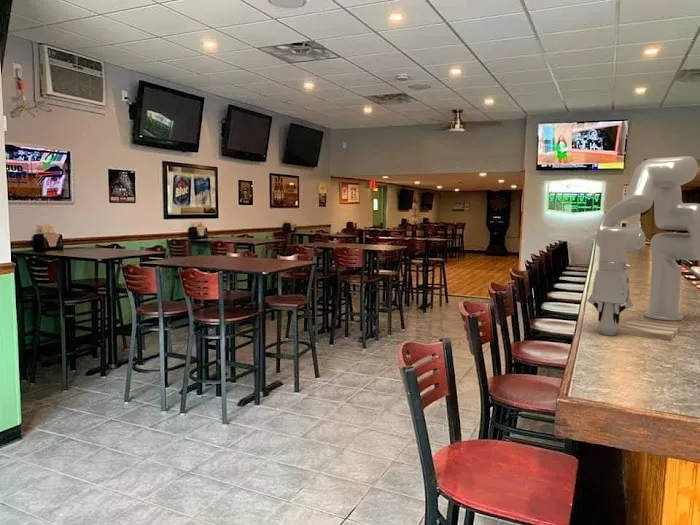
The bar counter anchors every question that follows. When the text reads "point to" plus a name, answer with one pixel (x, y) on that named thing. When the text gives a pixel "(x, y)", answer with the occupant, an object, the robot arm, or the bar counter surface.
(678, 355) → the bar counter surface
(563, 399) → the bar counter surface
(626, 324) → the serving board
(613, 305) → the salt shaker
